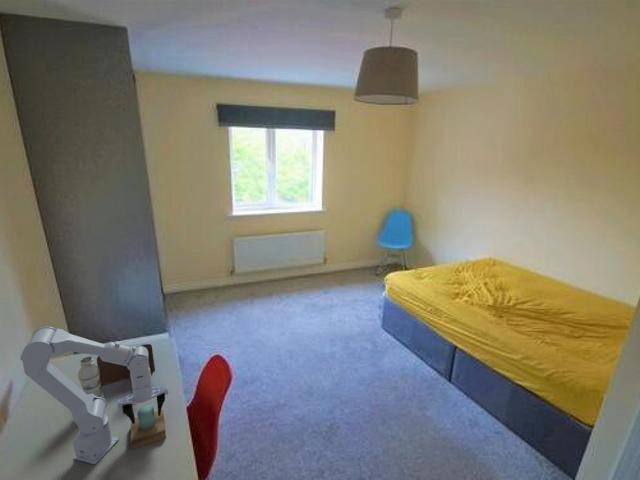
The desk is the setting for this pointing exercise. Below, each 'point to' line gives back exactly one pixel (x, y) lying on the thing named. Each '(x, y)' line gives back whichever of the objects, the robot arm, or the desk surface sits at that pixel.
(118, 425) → the desk surface
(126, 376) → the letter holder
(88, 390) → the plastic bottle
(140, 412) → the teal tapered rounded part
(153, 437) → the block
